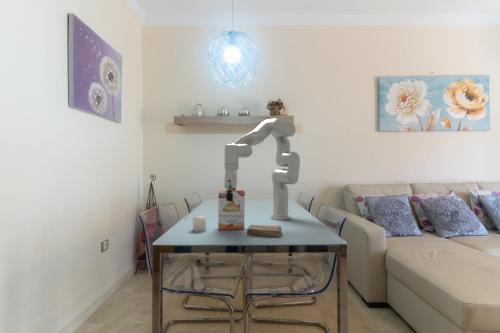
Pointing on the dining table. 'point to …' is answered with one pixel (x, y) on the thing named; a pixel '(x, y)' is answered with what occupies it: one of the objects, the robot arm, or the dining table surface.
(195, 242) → the dining table surface
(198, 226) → the white small block
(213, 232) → the dining table surface
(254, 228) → the plinth
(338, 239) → the dining table surface
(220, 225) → the cracker box
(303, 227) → the dining table surface
